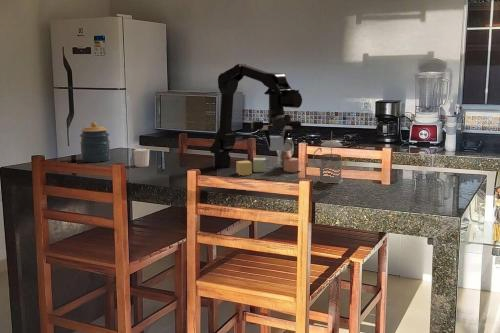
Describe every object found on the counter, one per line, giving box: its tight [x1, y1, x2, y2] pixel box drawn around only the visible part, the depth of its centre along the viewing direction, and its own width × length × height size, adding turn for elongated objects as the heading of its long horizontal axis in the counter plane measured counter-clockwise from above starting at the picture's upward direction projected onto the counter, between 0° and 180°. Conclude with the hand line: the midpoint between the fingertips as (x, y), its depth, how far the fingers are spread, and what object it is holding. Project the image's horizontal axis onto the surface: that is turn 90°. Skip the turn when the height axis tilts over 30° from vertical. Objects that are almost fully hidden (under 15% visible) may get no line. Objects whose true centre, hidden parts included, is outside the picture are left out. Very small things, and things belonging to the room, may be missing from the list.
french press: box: [312, 114, 344, 184], centre depth 207 cm, size 10×12×25 cm
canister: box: [79, 121, 111, 163], centre depth 253 cm, size 13×13×18 cm
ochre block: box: [235, 160, 253, 176], centre depth 222 cm, size 5×5×5 cm
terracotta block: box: [283, 157, 299, 173], centre depth 228 cm, size 5×5×5 cm
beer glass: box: [276, 137, 295, 168], centre depth 231 cm, size 7×7×15 cm
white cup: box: [132, 148, 150, 168], centre depth 241 cm, size 7×7×7 cm
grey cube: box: [268, 135, 284, 152], centre depth 216 cm, size 5×5×5 cm
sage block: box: [252, 157, 267, 173], centre depth 229 cm, size 5×5×5 cm
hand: (276, 146), depth 217 cm, fingers closed on grey cube, 5 cm apart
